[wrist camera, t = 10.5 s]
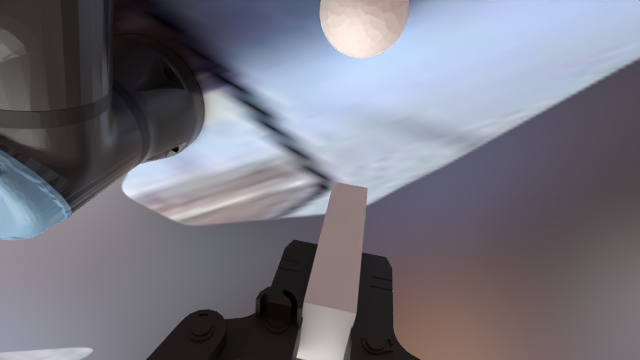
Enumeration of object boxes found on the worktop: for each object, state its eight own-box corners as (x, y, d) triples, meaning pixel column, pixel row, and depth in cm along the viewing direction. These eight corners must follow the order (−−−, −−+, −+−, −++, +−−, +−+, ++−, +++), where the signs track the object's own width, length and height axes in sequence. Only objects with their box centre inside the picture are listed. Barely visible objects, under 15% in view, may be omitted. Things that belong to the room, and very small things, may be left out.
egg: (407, 42, 35) (411, 67, 25) (335, 50, 37) (312, 76, 27) (407, -44, 31) (411, -55, 21) (327, -32, 33) (297, -36, 23)
